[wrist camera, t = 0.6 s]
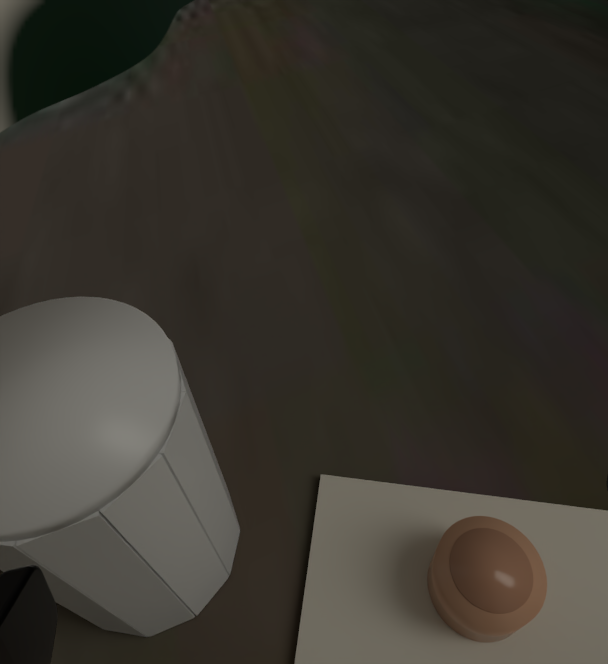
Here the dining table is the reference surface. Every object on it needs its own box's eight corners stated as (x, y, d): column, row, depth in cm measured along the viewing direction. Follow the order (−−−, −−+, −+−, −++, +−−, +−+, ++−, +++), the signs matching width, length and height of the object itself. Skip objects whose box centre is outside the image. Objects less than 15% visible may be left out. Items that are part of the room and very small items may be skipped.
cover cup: (213, 648, 20) (115, 556, 11) (41, 618, 21) (-180, 509, 12) (253, 474, 25) (207, 307, 16) (110, 455, 26) (-10, 287, 17)
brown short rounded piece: (533, 650, 19) (555, 638, 18) (426, 633, 20) (436, 619, 18) (521, 543, 22) (540, 522, 20) (427, 531, 23) (435, 508, 21)
